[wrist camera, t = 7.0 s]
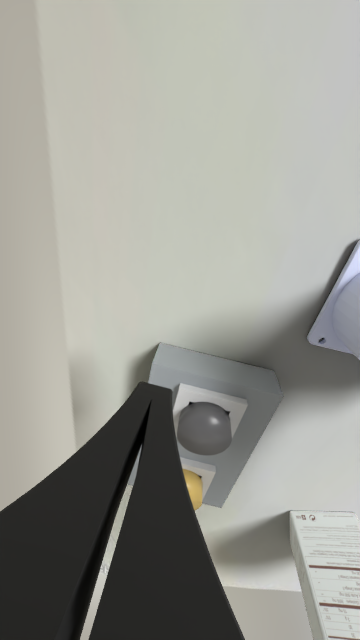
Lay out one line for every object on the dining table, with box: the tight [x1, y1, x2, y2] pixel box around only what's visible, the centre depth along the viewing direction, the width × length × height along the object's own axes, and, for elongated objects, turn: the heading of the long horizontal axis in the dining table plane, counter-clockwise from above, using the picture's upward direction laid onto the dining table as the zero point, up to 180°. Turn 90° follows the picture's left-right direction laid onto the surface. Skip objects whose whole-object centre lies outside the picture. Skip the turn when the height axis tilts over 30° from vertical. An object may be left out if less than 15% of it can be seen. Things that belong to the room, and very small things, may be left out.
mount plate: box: [128, 343, 283, 508], centre depth 22 cm, size 10×16×4 cm, turn 167°
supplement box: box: [290, 511, 360, 640], centre depth 24 cm, size 7×7×13 cm
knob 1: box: [183, 469, 203, 510], centre depth 23 cm, size 4×4×5 cm
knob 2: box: [177, 402, 232, 456], centre depth 20 cm, size 4×4×5 cm
